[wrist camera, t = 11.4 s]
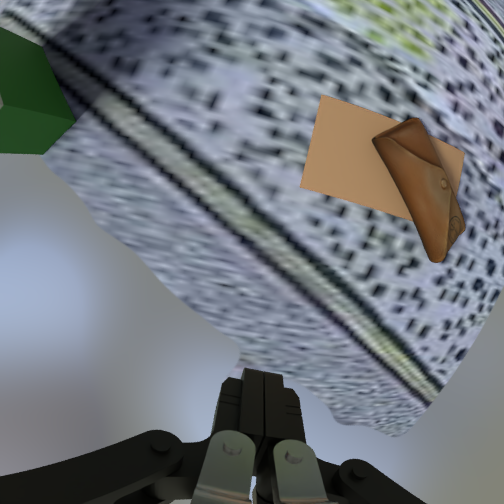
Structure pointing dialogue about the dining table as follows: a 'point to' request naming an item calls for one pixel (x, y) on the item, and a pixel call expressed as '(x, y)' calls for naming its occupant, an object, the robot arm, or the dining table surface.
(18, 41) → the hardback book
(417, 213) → the sunglasses case
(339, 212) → the dining table surface
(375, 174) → the mat
